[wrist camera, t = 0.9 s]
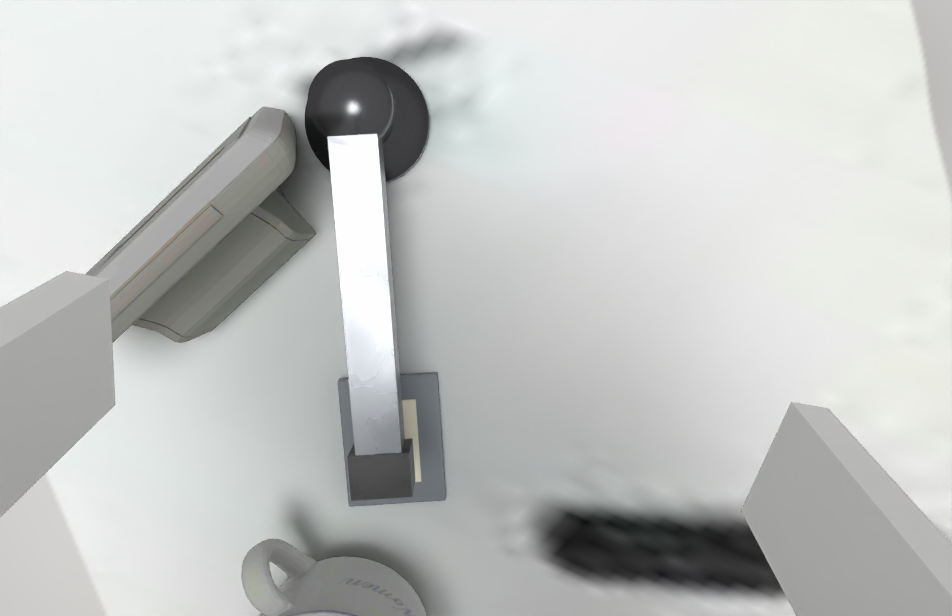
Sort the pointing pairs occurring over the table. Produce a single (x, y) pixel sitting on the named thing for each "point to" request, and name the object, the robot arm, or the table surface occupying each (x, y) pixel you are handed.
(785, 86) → the table surface
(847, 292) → the table surface
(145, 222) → the digital clock
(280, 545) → the teacup
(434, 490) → the label plate
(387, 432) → the swing arm
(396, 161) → the pivot post
